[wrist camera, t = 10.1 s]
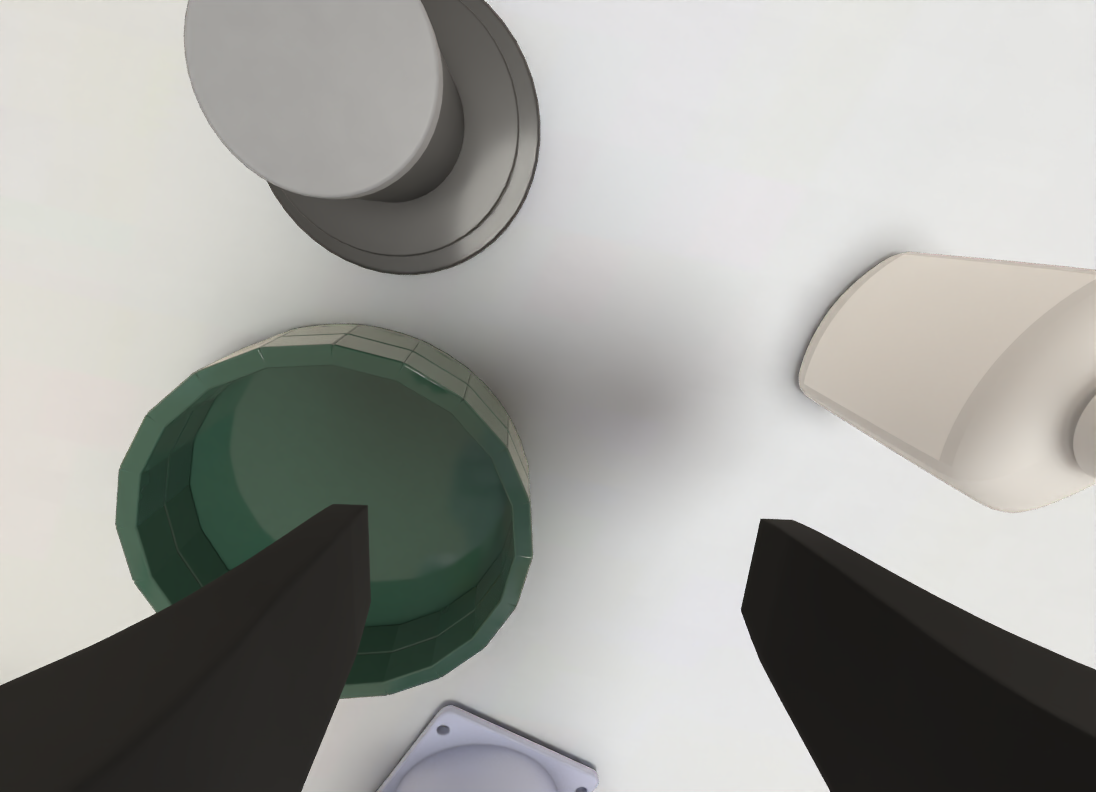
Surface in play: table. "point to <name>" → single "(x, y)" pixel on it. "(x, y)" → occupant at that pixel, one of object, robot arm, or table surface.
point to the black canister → (327, 94)
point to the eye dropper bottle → (968, 372)
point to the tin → (340, 487)
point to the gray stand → (478, 176)
